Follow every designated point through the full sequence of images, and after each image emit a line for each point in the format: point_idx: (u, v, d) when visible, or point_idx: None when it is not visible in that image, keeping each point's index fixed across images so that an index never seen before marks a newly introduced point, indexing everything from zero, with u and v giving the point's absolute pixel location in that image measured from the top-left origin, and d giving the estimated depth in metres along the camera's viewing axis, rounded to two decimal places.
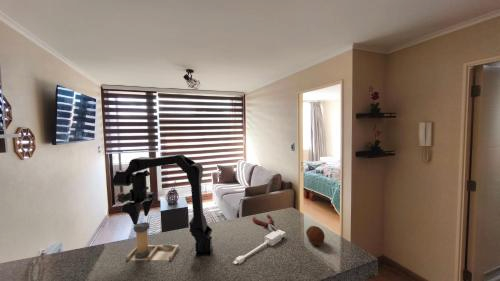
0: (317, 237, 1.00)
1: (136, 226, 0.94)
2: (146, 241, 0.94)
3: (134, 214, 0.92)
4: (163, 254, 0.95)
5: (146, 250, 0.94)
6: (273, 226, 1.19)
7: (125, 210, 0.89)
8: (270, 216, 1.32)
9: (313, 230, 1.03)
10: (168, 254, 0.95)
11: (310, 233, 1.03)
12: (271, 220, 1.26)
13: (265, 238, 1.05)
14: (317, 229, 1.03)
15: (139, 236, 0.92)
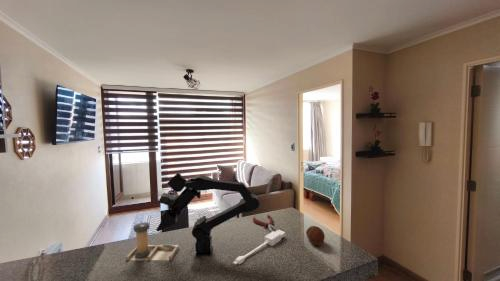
0: (317, 237, 1.00)
1: (136, 226, 0.94)
2: (146, 241, 0.94)
3: (165, 223, 0.90)
4: (163, 254, 0.95)
5: (146, 250, 0.94)
6: (273, 226, 1.19)
7: (165, 219, 0.87)
8: (270, 216, 1.32)
9: (313, 230, 1.03)
10: (168, 254, 0.95)
11: (310, 233, 1.03)
12: (271, 220, 1.26)
13: (265, 238, 1.05)
14: (317, 229, 1.03)
15: (139, 236, 0.92)
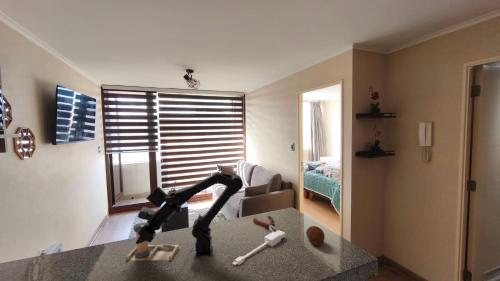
0: (317, 237, 1.00)
1: (136, 226, 0.94)
2: (146, 241, 0.94)
3: None
4: (163, 254, 0.95)
5: (146, 250, 0.94)
6: (274, 227, 1.18)
7: (142, 235, 0.86)
8: (271, 217, 1.31)
9: (313, 230, 1.03)
10: (168, 254, 0.95)
11: (310, 233, 1.03)
12: (272, 221, 1.25)
13: (265, 239, 1.05)
14: (317, 229, 1.03)
15: None
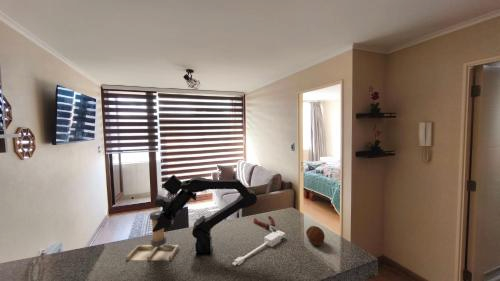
0: (317, 237, 1.00)
1: (152, 214, 0.93)
2: (162, 229, 0.94)
3: (161, 224, 0.91)
4: (163, 254, 0.95)
5: (162, 238, 0.94)
6: (274, 227, 1.18)
7: (161, 221, 0.85)
8: (271, 217, 1.30)
9: (313, 230, 1.03)
10: (168, 254, 0.95)
11: (310, 233, 1.03)
12: (272, 221, 1.25)
13: (264, 239, 1.05)
14: (317, 229, 1.03)
15: (155, 224, 0.92)
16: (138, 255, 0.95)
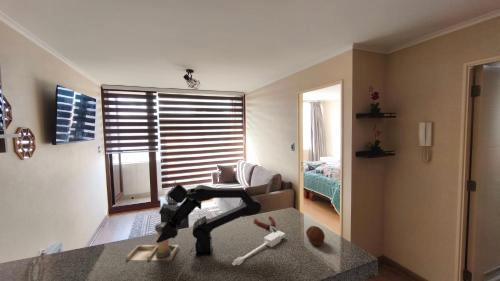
0: (317, 237, 1.00)
1: (157, 226, 0.93)
2: (167, 241, 0.94)
3: (166, 235, 0.89)
4: None
5: (167, 250, 0.94)
6: (275, 228, 1.17)
7: (167, 231, 0.86)
8: (272, 218, 1.30)
9: (313, 230, 1.03)
10: None
11: (310, 233, 1.03)
12: (273, 222, 1.24)
13: (264, 239, 1.04)
14: (317, 229, 1.03)
15: None
16: (138, 255, 0.95)
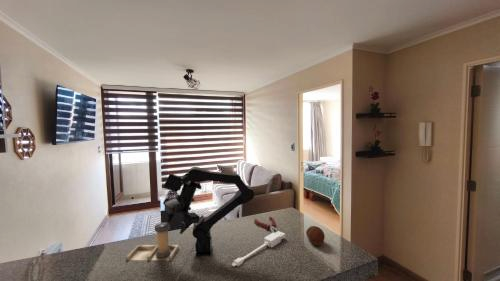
0: (317, 237, 1.00)
1: (157, 226, 0.93)
2: (167, 241, 0.94)
3: (187, 224, 0.93)
4: None
5: (167, 250, 0.94)
6: (275, 228, 1.17)
7: (192, 222, 0.90)
8: (272, 218, 1.29)
9: (313, 230, 1.03)
10: None
11: (310, 233, 1.03)
12: (273, 222, 1.24)
13: (264, 240, 1.04)
14: (317, 229, 1.03)
15: (160, 236, 0.92)
16: (138, 255, 0.95)
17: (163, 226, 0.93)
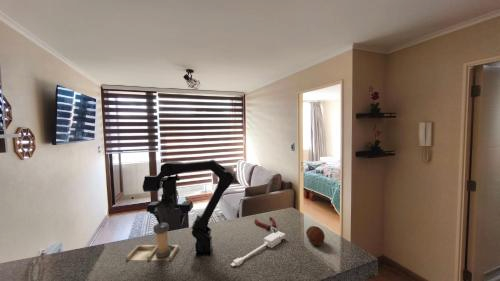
0: (317, 237, 1.00)
1: (156, 227, 0.92)
2: (167, 241, 0.94)
3: None
4: None
5: (167, 250, 0.94)
6: (275, 229, 1.16)
7: (190, 208, 0.94)
8: (272, 218, 1.29)
9: (313, 230, 1.03)
10: None
11: (310, 233, 1.03)
12: (273, 222, 1.23)
13: (264, 240, 1.04)
14: (317, 229, 1.03)
15: (159, 237, 0.91)
16: (138, 255, 0.95)
17: (162, 227, 0.92)
